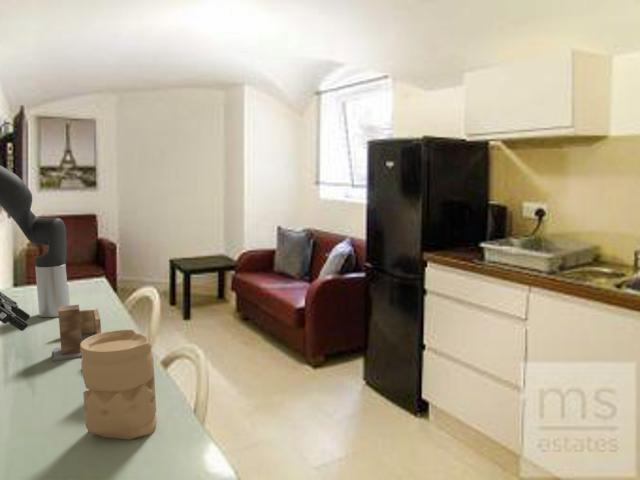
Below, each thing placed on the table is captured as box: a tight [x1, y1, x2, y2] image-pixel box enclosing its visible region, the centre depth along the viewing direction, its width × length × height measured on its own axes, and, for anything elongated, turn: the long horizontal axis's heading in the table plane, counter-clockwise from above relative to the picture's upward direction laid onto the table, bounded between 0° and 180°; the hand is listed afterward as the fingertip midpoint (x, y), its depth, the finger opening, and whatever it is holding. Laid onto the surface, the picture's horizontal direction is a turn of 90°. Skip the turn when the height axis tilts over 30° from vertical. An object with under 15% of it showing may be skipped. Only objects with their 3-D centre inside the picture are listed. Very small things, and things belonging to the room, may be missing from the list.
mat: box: [53, 346, 83, 362], centre depth 140 cm, size 9×9×1 cm
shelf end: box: [79, 308, 102, 335], centre depth 151 cm, size 9×13×7 cm
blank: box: [58, 304, 83, 355], centre depth 139 cm, size 5×5×12 cm
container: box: [80, 328, 157, 441], centre depth 97 cm, size 13×13×18 cm
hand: (26, 323), depth 134 cm, fingers open, 8 cm apart
